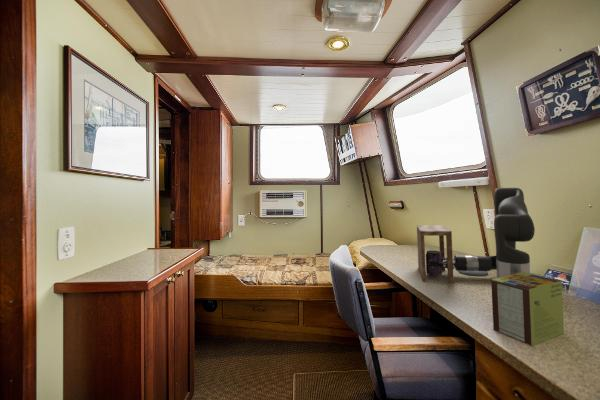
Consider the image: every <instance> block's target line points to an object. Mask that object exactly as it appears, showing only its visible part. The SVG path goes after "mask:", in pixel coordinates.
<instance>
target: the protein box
mask: <svg viewBox="0 0 600 400" xmlns="http://www.w3.org/2000/svg"><path fill="white" fill-rule="evenodd" d="M490 283H491V284H490V286H491V303H492V304H491V306H492V327H493V329H492V330H493V331H495V332H498V333H500V334H502V335H505V336H507V337H509V338H512V339H514V340H516V341H519V342H521V343H524V344H526V345H529V346H531V347H533V346H535V345H538V344H540V343H543V342H545V341H548V340H551V339H554V338H556V337H559V336H561V335H564V333H565V328H564V325H565V324H564V322H565V321H564V302H563V301H564V298H563V280H561V279H556V278H551V277H547V276H543V275H542V276H541V275H538V274H532V273H530V274H529V273H524V272H521V273H517V274H512V275H508V276H504V277H500V278H497V277H496V278H492V279H491V280H490Z"/></svg>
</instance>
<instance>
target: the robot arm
mask: <svg viewBox="0 0 600 400" xmlns="http://www.w3.org/2000/svg"><path fill="white" fill-rule="evenodd" d="M493 192H494V193H493V205H494V207H493V208H494V221H493V231H494V240H495V255H490V256H485V255H484V256H483V255H481V256H480V255H479V256H478V255H469V254H468V255H465V254H464V255H463V254H461V255H458V254H457V255H456V254H455V255H453V270H455V271H456V272H458V271H487V272H490V271H491V270H493V271H494V270H496V278H500V277H504V276H508V275H512V274H517V273H521V272H524V273H529V274H531V259H530V254H529V253H527V252H525V251H523V250H519V249H518V248H516V247H517V245H516V244H517V243H516V242H518V243H519V242H521V243H522V242H524V243H525V242H530V241H531V240H532V239H533V238H534V236H535V232H536V231H535V230H536V229H535V224H534V221H533V219H532V217H531V216H530V214H529V213H528V212H529V211H528V207H527V205H526V203H525V195H524V191H523V189H521V188H520V187H497V188H495V190H494V191H493ZM430 266H438V267H440V268H445V269H447V256H445V257H441V262H431V261H430Z"/></svg>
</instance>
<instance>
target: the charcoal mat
mask: <svg viewBox="0 0 600 400" xmlns="http://www.w3.org/2000/svg"><path fill="white" fill-rule="evenodd" d="M457 272H458V273H459V274H461V275H465V276H472V277H485V276H487V275H489V271H457Z"/></svg>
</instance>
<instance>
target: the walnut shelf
mask: <svg viewBox="0 0 600 400" xmlns="http://www.w3.org/2000/svg"><path fill="white" fill-rule="evenodd" d="M452 234H453V233H452V230H451V229H449V228H447V226H445V225H443V224H437V225H436V224H432V225H431V224H428V225H426V224H423V225H416V240H417V241H416V243H417V263H418V265H417V266H418V271H419V274H420V278H421V280H422V283H427V273H426V250H425V249H426V247H425V236H426V237H427V236H432V237H434V236H436V237H437V236H438V242H439V252H440V254H441V257H447V268H442V271H446V269H447V283H448V284H451V285H453V284H454V283H455V281H454V269H453V259H454V255H453V238H452V237H453V236H452ZM445 239H446V244H445ZM445 245H446V256H445Z"/></svg>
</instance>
